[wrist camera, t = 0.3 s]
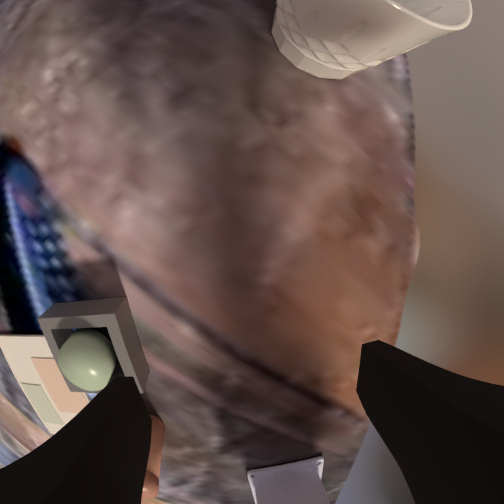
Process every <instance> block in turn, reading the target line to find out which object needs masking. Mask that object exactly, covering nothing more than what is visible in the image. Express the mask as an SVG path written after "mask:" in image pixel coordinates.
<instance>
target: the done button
mask: <svg viewBox="0 0 504 504" xmlns="http://www.w3.org/2000/svg"><path fill="white" fill-rule="evenodd" d="M57 360H58V365H59V367H60V369H61V371H62V373H63V374H64V375H65V377H66V378H67V379H68V380H69V381H70V382H72V383H73V384H74V385H76V386H78V387H79V388H82V389H84V390H88V391H99V390H101V389H103V388H104V387H105V386H106V385H107V383H108V381H109V379H110V377H111V374H112V372H113V370H114V368H115V366H116V363H117V354H116V352H115V349H114V347H113V345H112V344H111V342H110V341H109V340H108V339H107V338H106V337H105V336H104V335H102V334H101V333H99V332H98V331H95V330H93V329H89V328H80V329H77V330H75V331H74V332H73V333H72V334H71V336H70V337H69V338H68V339H67V341H66V342H65V343H64V344H63V346H62V347H61V348H60V350H59V351H58V355H57Z"/></svg>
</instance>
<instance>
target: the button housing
mask: <svg viewBox="0 0 504 504" xmlns="http://www.w3.org/2000/svg"><path fill="white" fill-rule="evenodd" d="M38 321H39V323H40V326H41V329H42V331H43V334H44V336H45V339H46V341H47V343H48V346H49V348H50V350H51V353H52V355H53V357H54V359H55V362H56V364H57V366H58V368H59V370H60V372H61V374H62V376H63V378H64V380H65V382H66V384H67V386H68V388H69V390H70V392H84V393H99V392H100V391H101V390H102V389H101V390H99V391H88V390H84V389H82V388H79V387H78V386H76V385H74V384H73V383H72V382H70V381H69V380H68V379H67V378H66V377H65V375H64V374H63V373H62V371H61V369H60V367H59V365H58V360H57V355H58V351H59V350H60V348H61V347H62V346H63V344H64V343H65V342H66V341H67V339H68V338H69V337H70V336H71V334H72V333H73V331H72V329H74V328H94V327H107V329H108V332H109V335H110V338H111V341H112V344H113V346H114V349H115V352H116V354H117V357H118V360H119V362H120V364H116V366H115V368H114V370H113V372H112V374H111V377H110V379H109V381H108V383H107V385H108V384H109V383H110V382H111V381H112V380H113V379H114V378H115V377H130V376H133V377H134V379H135V382H136V385H137V387H138V389H139V392H140V393H144V390H145V386H146V383H147V379H148V376H149V372H150V371H149V368H148V365H147V362H146V359H145V356H144V354H143V351H142V347H141V344H140V341H139V338H138V335H137V332H136V329H135V325H134V322H133V318H132V315H131V311H130V308H129V304H128V300H127V297H116V298H106V299H96V300H86V301H75V302H64V303H54V304H53V305H52V306H51V307H50V308H49V309H48V310H46V311H45V312H44V313H43V314H42V315H41V316H40V317H39V318H38Z"/></svg>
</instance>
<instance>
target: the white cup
mask: <svg viewBox="0 0 504 504" xmlns="http://www.w3.org/2000/svg"><path fill="white" fill-rule="evenodd" d="M276 4H277V7H276V10H275V13H274V18H273V24H272V31H271V33H272V35H273V38H274V40H275V42H276V45H277V47H278V49H279V52H280V53H282V54H283V55H284V56H285V57H286V58H287V59H288V60H289V61H290V62H291V63H292V64H293V65H294V66H295V67H296V68H298V69H301V70H303V71H305V72H307V73H310V74H312V75H314V76H316V77H318V78H330V79H343V78H346V77H348V76H351V75H353V74H356V73H358V72H360V71H362V70H364V69H366V68H368V67H373V66H375V65H378V64H380V63H381V62H384V61H386V60H389V59H391V58H393V57H395V56H397V55H400V54H403V53H405V52H407V51H409V50H412V49H414V48H416V47H418V46H421V45H423V44H425V43H427V42H430V41H432V40H435V39H437V38H439V37H442V36H444V35H447V34H450V33H452V32H455V31H458V30H461V29H463V28H465V27H466V26H467V25H468V24H469V23H470V21H471V18H472V5H471V0H277V1H276Z"/></svg>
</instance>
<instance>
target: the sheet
mask: <svg viewBox="0 0 504 504" xmlns="http://www.w3.org/2000/svg"><path fill="white" fill-rule="evenodd" d="M0 347H1V349H2V351H3V353H4V356H5V358H6V360H7V362H8V364H9V366H10V368H11V370H12V372H13V374H14V375H15V377H16V379H17V381H18V383H19V385H20V386H21V388H22V390H23V392H24V393H25V395H26V397H27V398H28V400H29V402H30V403H31V405H32V407H33V408H34V410H35V411H36V413H37V414H38V416H39V417H40V419H41V420H42V422H43V423H44V425H45V426H46V428H47V429H48V430H49V432H50V433H51V434H56V433H57V432H58V431H59V430H60V429H61V428H62V427H64V426H65V425H66V424H67V423H68V422H69V421H70V420H71V419H73V418H74V417H75V416H76V415H77V414H78V413H79V412H80V411H81V410H82V409H83V408H84V407H85V406H86V405H87V404H88V403H89V402H90V401H91V400H90V398H89V396H88V394H87V393H84V392H70V390H69V388H68V386H67V384H66V382H65V380H64V378H63V376H62V374H61V372H60V370H59V368H58V366H57V364H56V362H55V359H54V357H53V355H52V353H51V350H50V348H49V346H48V343H47V341H46V339H45V336H44V335H3V334H0Z"/></svg>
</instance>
